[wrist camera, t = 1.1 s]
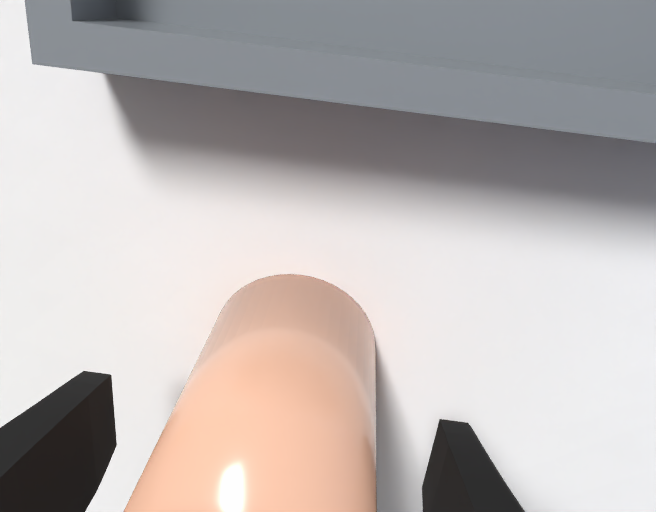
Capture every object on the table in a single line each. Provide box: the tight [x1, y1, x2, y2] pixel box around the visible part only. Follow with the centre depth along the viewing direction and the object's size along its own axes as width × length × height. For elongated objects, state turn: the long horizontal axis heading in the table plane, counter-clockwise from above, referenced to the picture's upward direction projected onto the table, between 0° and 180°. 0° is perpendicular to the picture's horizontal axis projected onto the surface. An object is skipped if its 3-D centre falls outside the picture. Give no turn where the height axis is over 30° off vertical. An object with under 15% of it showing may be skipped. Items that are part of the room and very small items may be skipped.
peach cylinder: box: [124, 274, 377, 512], centre depth 12 cm, size 4×4×7 cm
